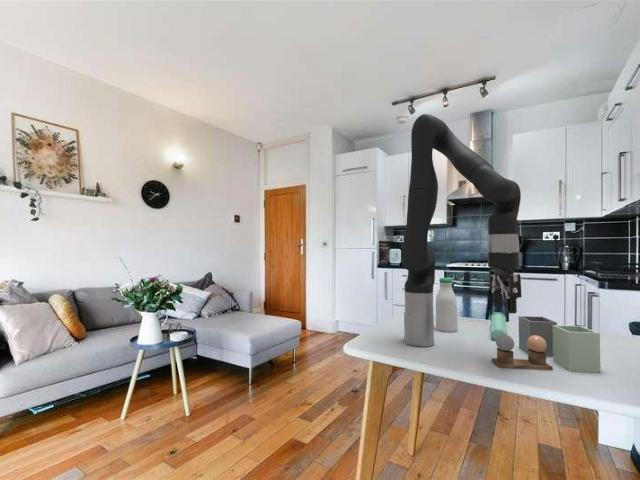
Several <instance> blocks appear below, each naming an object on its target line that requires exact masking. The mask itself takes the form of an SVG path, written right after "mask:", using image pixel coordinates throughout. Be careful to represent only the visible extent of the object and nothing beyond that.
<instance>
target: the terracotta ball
mask: <svg viewBox="0 0 640 480" xmlns="http://www.w3.org/2000/svg"><path fill="white" fill-rule="evenodd" d="M527 345H528V347H529V348H530V349H531V350H532V351H534V352H543V351H544V350H545V349H546V347H547V344H546V341H545V340H544V339H543V338H542V337H540V336H538V335H533V336H530V337H529V338H528V340H527Z"/></svg>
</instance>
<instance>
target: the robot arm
mask: <svg viewBox="0 0 640 480" xmlns="http://www.w3.org/2000/svg"><path fill="white" fill-rule="evenodd" d="M411 128H412V129H411V135H410V138H411V139H410V146H411V157H410V158H411V163H410V177H409V186H408V195H407V213H406V224H405V225H406V226H405V233H404V238H403V239H404V240H403V245H402V250H401V255H400V260H401V264H402V266H403V267H404V268H405V270H407V278H406V280H405V282H404V312H403V319H404V320H403V321H404V322H403V324H404V325H403V326H404V327H403V328H404V329H403V330H404V331H403V332H404V334H403V335H404V341H405V343H406V345H409V346H414V347H425V348H426V347H427V348H428V347H431V346H434V344H435V327H434V326H435V324H434V321H435V319H434V285H435V282H436V259H435V253H434V251H433V249H432V248H431V247H430V246H428V240H429V239H428V236H429V229H430V226H431V222H432V220H433V218H434V214H435V212H436V208H437V203H438V194H439V182H438V176H437V172H436V169H435V166H434V159H433V150H435V151H437V152H439V153H441V154H442V155H444V157H445V158H447V160H448V161H449V162H450V163H451V165H452V166H453V168H454V169H455V170H456V171H457V172H458V173H459V174H460V175H462V176H463V178H465V179H466V180H467V181H468V182H469V183H470V184H472V185H473V187H475V189H476V190H477V191H478V193H479V194H480V195H481V196H482V198H485V200H487V201H488V202H490V203H492V204H493V212H492V213H491V214H490V215H489V216H488V221H487V226H488V228H487V231H488V233H487V234H488V237H487V238H488V239H487V266H488V268H490V270H489V271H488V272H489V275H488V277H489V287H488V289H489V290H490V291H491V293H492V297H493V298H492V303H493V305H492V306H494V308H502V307H503V292H504V294H505V298H506V299H505V301H506V302H505V303H506V304H505V305H506V307H505V308H506V313H507V314H517V312H518V310H517V300H518V298H522V283H521V282H522V279H521V274H520V273H514V270H517V269H519V268H520V240H519V234H518V233H519V232H518V231H519V230H518V227H519V226H518V217H519V210H520V205H521V200H522V199H521V198H522V195H521V189H520V186H519V184H518V183H517V182H515V181H513V180H511V179H508V178H506V177H503V176H502V175H501V174H499V173H498V172H497V171H496V170H495V169H494V167H493V165H491V163H489V162H488V161H487V160H486V159H485V158H484V157H482V156H481V155H479V154H478V153H476V152H475V151H474V150H473V149H471V148H470V147H468V146H467V145H465V144H464V143H463V141H461V140H460V139H459V138H458V137H457V136H456V135H455V134H454V132H453V131H452V130H451V129H450V128H449V126H448V125H447V123H445V121H444V120H443V119H440V118H439V117H436V116H434V115H432V114H430V113H424V114H421V115H419V116H418V117H417V118H416V119H415V121H414V122H413V124H412V127H411Z"/></svg>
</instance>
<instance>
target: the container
mask: <svg viewBox="0 0 640 480" xmlns="http://www.w3.org/2000/svg"><path fill="white" fill-rule="evenodd" d="M490 323H491V325H490V327H491V328H490V335H491V338H492V339H493V340H494V341H496V338H497V337H498V336H499V335H501V334H506V335H508V333H507V325H506V324H507V317H506V316H505V315H504V313H503V312H500V311H499V312H493V313H492V314H491V315H490Z"/></svg>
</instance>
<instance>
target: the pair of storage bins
mask: <svg viewBox="0 0 640 480" xmlns="http://www.w3.org/2000/svg"><path fill="white" fill-rule="evenodd" d="M533 335H538V336H540V337H542V338H543V339H544V340H545V341H546V344H547V347H546V349H545V350H544V351H543V352H545V353H546V357H552V361H553V362H554V363H556V364H558V365H559V366H561V367H562V368H564V369H566V370H567V371H569V372H586V373H601V371H602V369H601V367H602V366H601V334H600V332H597V331H595V330H592V329H589V328H587V327H584V326H582V325H559V324H558V323H557V321H555V320H552V319H550V318H548V317H545V316H527V315H524V316H523V315H519V316H518V348H519V349H520V350H521V351H523V352H525V353H526V354H528V349H530V348H529V347H528V345H527V340H528V338H529V337H530V336H533Z"/></svg>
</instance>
